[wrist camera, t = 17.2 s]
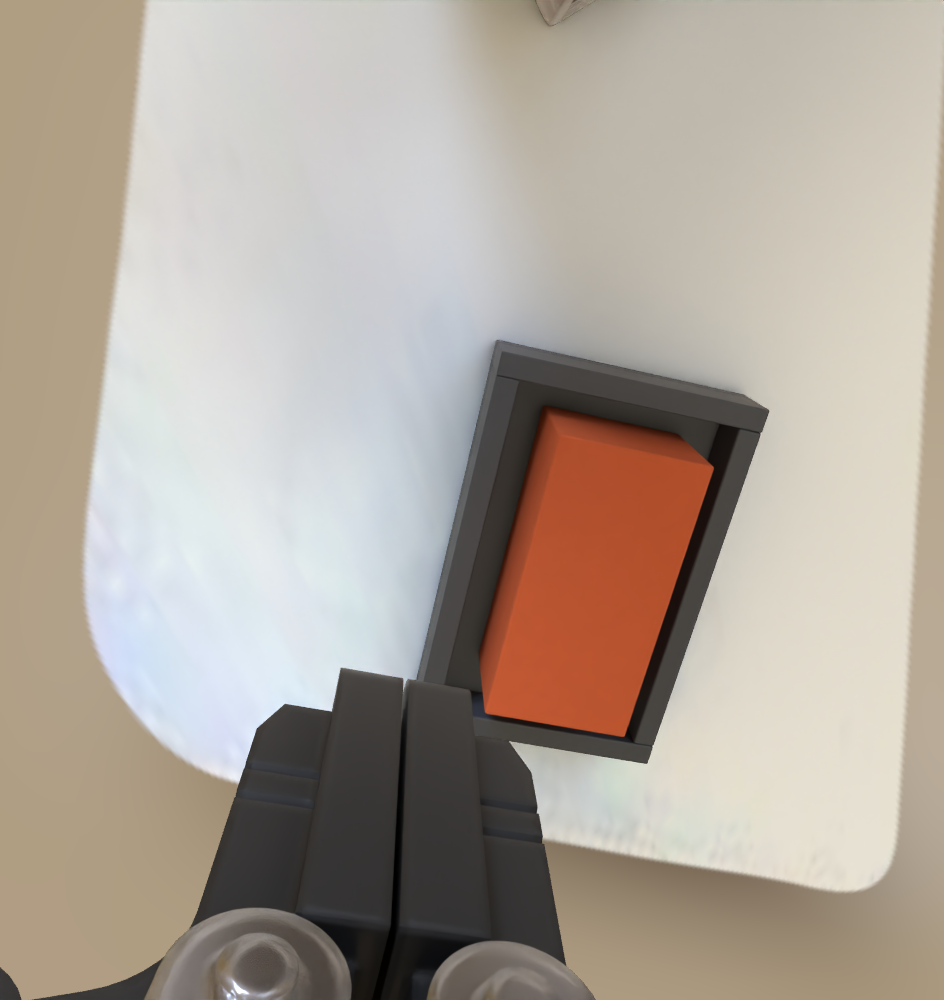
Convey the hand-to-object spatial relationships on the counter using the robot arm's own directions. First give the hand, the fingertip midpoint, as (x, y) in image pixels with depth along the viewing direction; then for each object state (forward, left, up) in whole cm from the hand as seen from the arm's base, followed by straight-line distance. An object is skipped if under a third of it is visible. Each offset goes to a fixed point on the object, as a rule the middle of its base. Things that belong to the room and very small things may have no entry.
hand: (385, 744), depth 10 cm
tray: (+5, +7, -21) cm, 23 cm away
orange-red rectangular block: (+5, +7, -20) cm, 22 cm away
